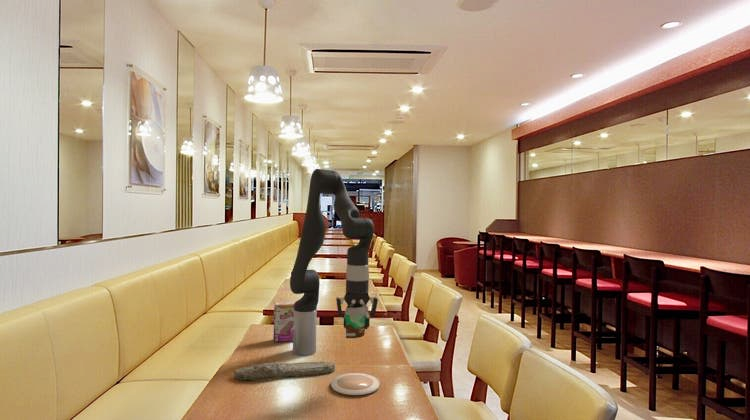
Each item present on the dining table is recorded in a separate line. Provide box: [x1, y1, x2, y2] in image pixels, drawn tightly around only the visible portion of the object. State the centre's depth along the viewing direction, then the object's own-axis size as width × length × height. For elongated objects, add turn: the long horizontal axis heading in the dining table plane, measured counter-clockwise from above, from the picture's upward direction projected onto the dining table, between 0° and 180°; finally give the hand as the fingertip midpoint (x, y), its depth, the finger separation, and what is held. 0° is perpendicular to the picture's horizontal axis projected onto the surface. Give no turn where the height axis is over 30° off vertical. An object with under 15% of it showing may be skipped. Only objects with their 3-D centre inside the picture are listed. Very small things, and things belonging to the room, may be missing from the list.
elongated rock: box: [234, 360, 336, 381], centre depth 157 cm, size 35×5×10 cm
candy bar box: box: [272, 301, 296, 343], centre depth 195 cm, size 11×5×16 cm, turn 106°
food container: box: [344, 303, 369, 339], centre depth 147 cm, size 12×6×10 cm, turn 169°
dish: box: [330, 372, 380, 396], centre depth 147 cm, size 16×16×2 cm
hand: (356, 328), depth 147 cm, fingers closed on food container, 5 cm apart
